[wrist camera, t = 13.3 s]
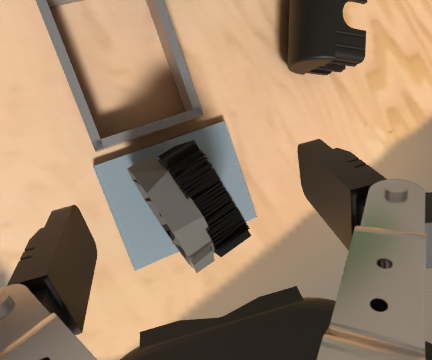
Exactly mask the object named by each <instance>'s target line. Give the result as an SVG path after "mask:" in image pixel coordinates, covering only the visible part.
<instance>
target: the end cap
mask: <svg viewBox="0 0 432 360" xmlns="http://www.w3.org/2000/svg"><path fill="white" fill-rule="evenodd" d="M346 2H356V3H361V4H365V3H366V2H367V0H290V5H289V38H288V69H289V70H290V71H291V72H294V73H297V74H302V75H303V74H305V73H311V74H318V75H328V74H330V73H331V72H332V71H334V72H341V71H343V70H344V69H345V65H346V66H356V65H357V64H359V63H361V62H362V61H363V60H364V58H365V44H366V31H364V30H358V29H353V28H351V27H349V26H348V25H347V24H346V23H345V21H344V18H343V7H344V5H345V3H346ZM338 64H339V65H338Z"/></svg>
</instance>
